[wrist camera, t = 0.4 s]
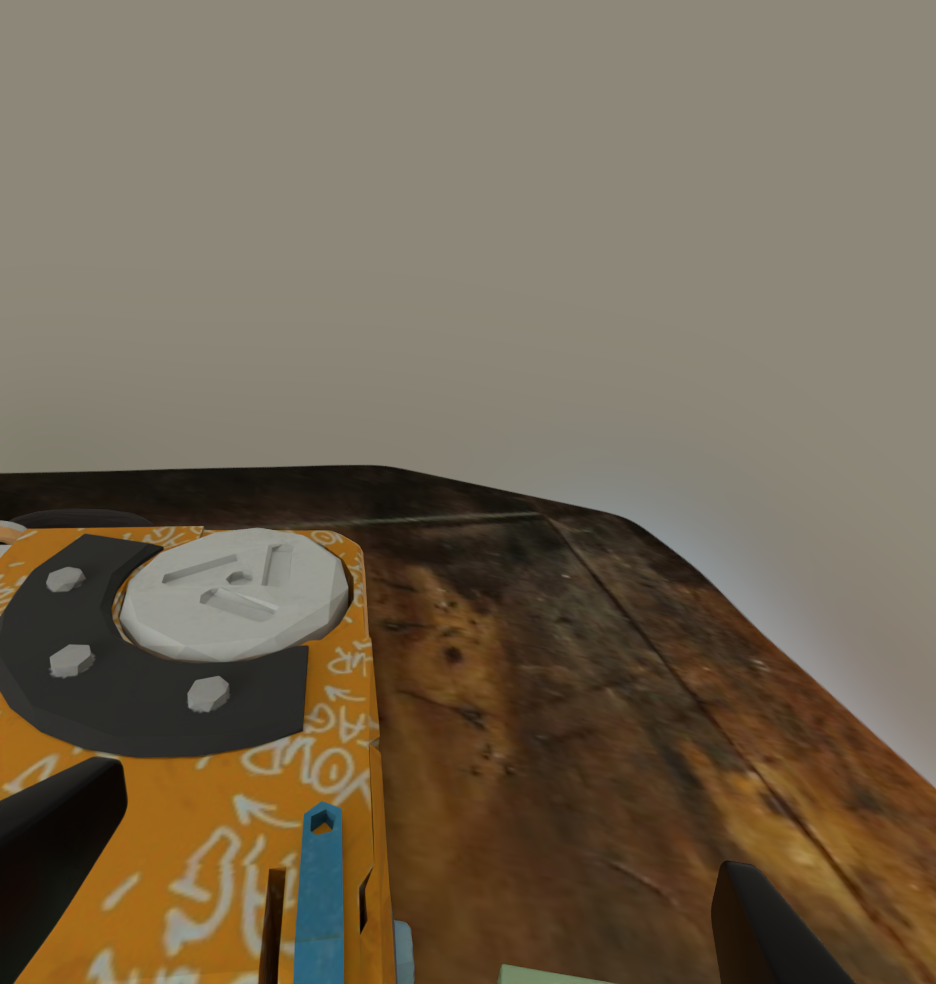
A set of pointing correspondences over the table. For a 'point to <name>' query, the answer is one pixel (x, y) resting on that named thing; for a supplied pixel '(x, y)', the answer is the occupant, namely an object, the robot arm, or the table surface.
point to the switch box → (538, 977)
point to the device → (204, 748)
